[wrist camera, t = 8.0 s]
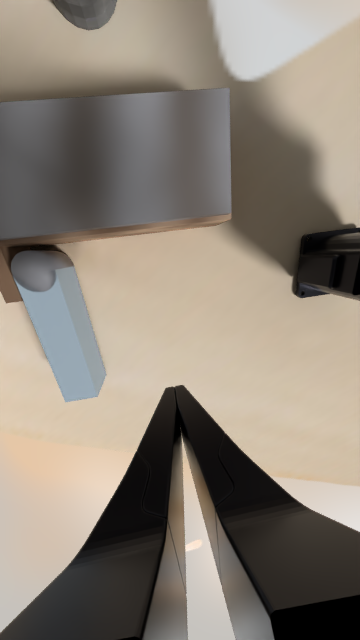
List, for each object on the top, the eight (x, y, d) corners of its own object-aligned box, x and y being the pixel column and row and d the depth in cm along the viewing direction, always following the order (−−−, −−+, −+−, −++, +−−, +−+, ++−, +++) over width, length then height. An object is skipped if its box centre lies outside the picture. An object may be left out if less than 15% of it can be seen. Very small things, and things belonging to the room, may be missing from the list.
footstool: (211, 130, 15) (234, 80, 11) (217, 268, 19) (236, 274, 15) (-25, 148, 14) (-110, 100, 10) (33, 293, 18) (-8, 307, 13)
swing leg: (106, 374, 21) (97, 396, 18) (79, 379, 21) (65, 402, 18) (68, 248, 17) (47, 248, 13) (33, 252, 16) (3, 253, 13)
